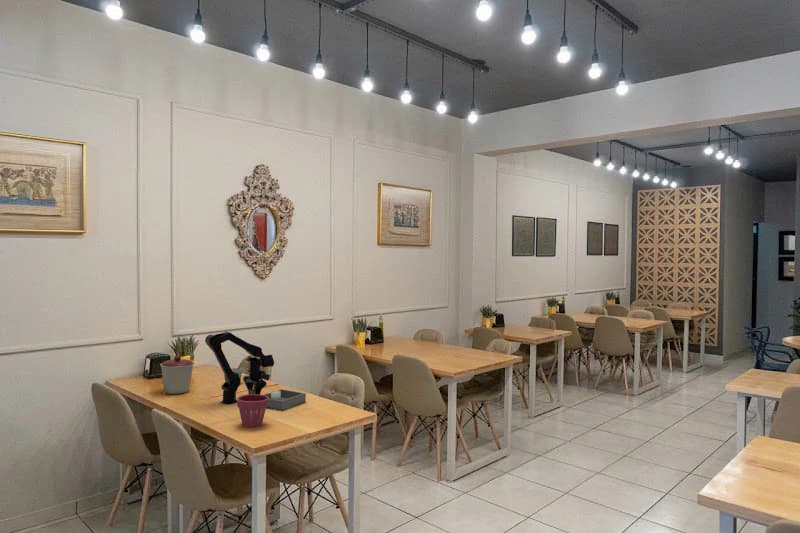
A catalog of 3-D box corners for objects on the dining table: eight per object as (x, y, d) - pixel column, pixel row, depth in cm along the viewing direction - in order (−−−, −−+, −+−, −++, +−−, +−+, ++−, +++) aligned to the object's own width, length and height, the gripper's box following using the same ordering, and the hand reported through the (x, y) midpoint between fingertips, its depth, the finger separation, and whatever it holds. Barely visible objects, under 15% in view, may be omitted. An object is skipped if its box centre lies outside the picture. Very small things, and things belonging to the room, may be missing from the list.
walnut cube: (260, 399, 302) (260, 390, 302) (251, 400, 299) (251, 391, 299) (256, 397, 306) (256, 388, 306) (248, 398, 303) (248, 389, 303)
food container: (229, 387, 327) (230, 370, 327) (223, 385, 331) (224, 369, 331) (246, 383, 337) (247, 367, 337) (240, 382, 341) (241, 366, 341)
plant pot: (270, 420, 264) (271, 394, 264) (264, 429, 250) (265, 401, 250) (240, 419, 263) (241, 393, 263) (233, 428, 249) (233, 401, 249)
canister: (160, 389, 317) (161, 353, 317) (193, 387, 323) (194, 352, 323) (158, 397, 300) (159, 359, 300) (193, 395, 306) (194, 357, 306)
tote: (282, 411, 280) (282, 401, 280) (256, 406, 288) (256, 396, 288) (305, 402, 298) (305, 393, 298) (280, 397, 305) (281, 389, 305)
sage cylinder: (276, 406, 285) (276, 393, 285) (268, 405, 287) (269, 392, 287) (282, 404, 289) (282, 391, 289) (274, 403, 292) (275, 390, 292)
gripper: (275, 369, 300) (274, 398, 300) (261, 364, 315) (260, 390, 315) (256, 372, 293) (255, 400, 293) (242, 366, 308) (242, 393, 308)
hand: (254, 396), depth 303 cm, fingers open, 9 cm apart
